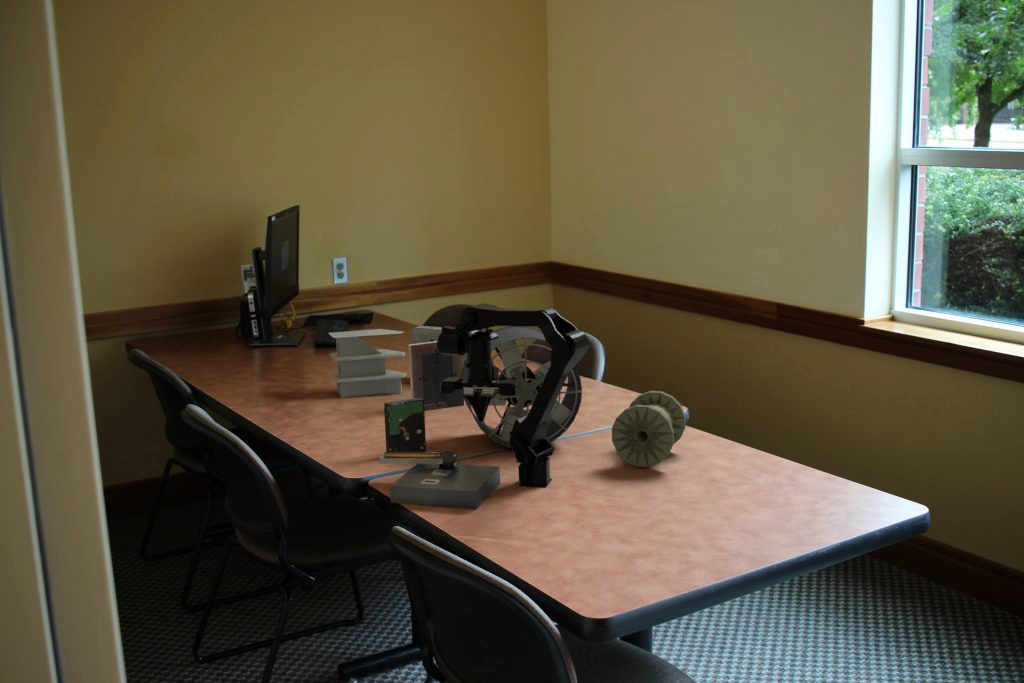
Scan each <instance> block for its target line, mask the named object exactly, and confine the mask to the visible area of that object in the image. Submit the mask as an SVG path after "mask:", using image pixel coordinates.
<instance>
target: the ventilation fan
mask: <svg viewBox="0 0 1024 683" xmlns="http://www.w3.org/2000/svg"><path fill="white" fill-rule="evenodd" d="M493 331H494V332H495V333H496V334H497V335H498V336H499V338H497V339H494V340H491V352H493V351H495V352H496V354H495V355H494V356H493V357H491V359H493V360H494V359H495V358H496V357H499V359H500V360H501V362H502V364H503V369H502V370H501V369H500V368H499V373H500V374H499V376H498V381H492V383H500V382H502V381H503V380H504V379H518V380H519V381H520V383H521V391H520V392H519V393H518V394H516V395H515V396H502V395H501V394H500V393H499V391H498V394H497V395H495V396H494V397H493V398H492V399H491V401H490V403H489V405H488V407H491V406H492V407H494V411H495V413H497V415H498V416H499V418H500V419H501V420H500V422H499V424H497V426H496V427H495V428H494V427H492V426H490V425H488V424H486V422H485V420H484V421H483V422H479V420H478V418H477V416H476V414H475V412H473V408H472V406H471V404H470V403H469V401H468V400H467V398H464V404H465V405H466V407H467V408H468V410H469V412H470V413H471V416H472V417H473V419H474V421H475V423H476V424H477V426H478V427H479V429H480V430H481V431H482V432H483V433H484V434H485V436H487V437H488V438H490V440H492V441H494V442H495V443H497V444H499V445H501V446H503V447H506V448H510V449H512V447H511V444H510V443H509V439H510V436H511V435H509V433H510V432H511V431H512V429H513V426H514V422H515V420H517V419H519V418H521V417H523V416H526V415H528V413H529V411H530V409H531V408H530V407H532V405H533V402H534V400H535V398H536V396H537V394H538V391H539V389H540V387H541V385H542V383H543V380H544V378H545V376H546V374H547V372H548V370H549V367H550V364H551V360H548V361H547V362H545V363H544V364H543V363H541V362H538V361H534V360H527V359H528V358H527V353H528V352H527V346H528V347H529V346H532V347H534V346H535V347H539V348H543V349H545V350H548V351H550V352H551V349H552V348H549V347H547V346H545V345H541V344H537V343H536V344H535V343H527V339H531V340H539V341H543V342H546V343H548V342H547V341H546V340H545V337H544V335H543V333H542V331H541V330H538V329H535V328H534V327H533V328H532V327H530V326H503V327H501V328H498V329H495V330H493ZM522 339H523V340H524V343H522V344H517V343H516V340H522ZM519 347H524V358H523V356H522V354H521V352H520V349H519ZM466 363H467V358H466V360H465V362H464V365H463V369H462V373H461V378H462V380H463V382H467V380H468V368H466ZM528 363H531V364H532V363H533V364H537V365H539V366H540V367H538V368H537V369H535V370H534V371H532V369H531V368H530V367H528V366H527V364H528ZM493 365H494V366H496V365H495V364H494V363H493ZM483 387H484V386H483ZM485 387H486V386H485ZM563 387H566V390H565V391H562V390H561V391H560V393H559V396H558V399H557V400H556V402H555V404H554V406H553V408H552V411H551V413H550V415H549V417H548V419H547V433H546V438H547V439H548V440H549V442H550V443H551V444H552V442H554V441H555V440H557V439H559V438H560V437H561V436H563V434H564V433H565V432H566V431H567V430H568V429H569V428H570V427H571V425H572V424H573V422H574V421H575V419H576V417H577V415H578V413H579V410H580V407H581V404H582V399H583V398H582V396H583V388H582V380H581V376H580V374H579V371H578V368H577V366H576V365H575V366H574V367H573V368H572V369H571V370H570V372H569V374H568V376H567V382H565V383H564V385H563ZM482 394H483V390H481V395H482ZM561 394H564V397H563V398H562V401H561ZM462 395H464V390H463V389H462ZM506 404H507V405H506ZM497 406H501V407H502V406H503V407H505V406H506V407H505V409H504V412H503V415H501V414H500V412H499V411H498V409H497ZM525 408H526V409H525Z"/></svg>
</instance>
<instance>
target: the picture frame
mask: <svg viewBox="0 0 1024 683" xmlns="http://www.w3.org/2000/svg"><path fill="white" fill-rule="evenodd" d="M407 346H408V360H409V362H408V363H409V379H410V380H409V381H410V399H415V398H422V399H424V407H425V412H429V411H436V410H442V409H448V408H455V407H456V408H458V407H463V406H465V400H464V397H463V395H462V389H455V391H454V392H453V393H452V394H449V393H440V383H441V382H442V381H443V380H445V379H446V378H448V377H458V378H461V373H462V356H457V355H447V354H441V353H440V352H439V351H438V348H437V341H433V342H425V343H417V344H412V343H410V344H408V345H407Z"/></svg>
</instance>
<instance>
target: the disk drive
mask: <svg viewBox="0 0 1024 683" xmlns="http://www.w3.org/2000/svg"><path fill="white" fill-rule="evenodd" d="M383 404H384V405H383V408H384V409H383V411H384V412H383V413H384V414H383V415H384V429H385V432H384V433H385V449H386V450H385V452H427V440H426V439H427V438H426V416H425V413H426V411H425V407H424V399H422V398H415V399H411V398H409V399H401V400H393V401H386V402H383Z"/></svg>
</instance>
